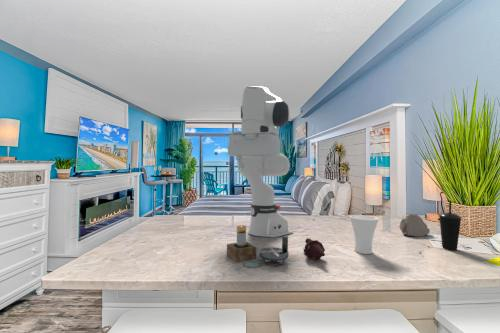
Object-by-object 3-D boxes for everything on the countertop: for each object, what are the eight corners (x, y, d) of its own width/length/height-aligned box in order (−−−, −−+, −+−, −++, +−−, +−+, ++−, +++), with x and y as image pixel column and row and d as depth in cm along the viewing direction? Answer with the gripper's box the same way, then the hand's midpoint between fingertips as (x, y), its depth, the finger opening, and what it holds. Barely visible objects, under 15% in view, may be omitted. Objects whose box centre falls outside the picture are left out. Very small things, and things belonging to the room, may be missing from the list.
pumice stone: (407, 237, 125) (407, 216, 125) (395, 233, 132) (396, 213, 132) (434, 236, 128) (434, 216, 128) (421, 232, 135) (421, 213, 135)
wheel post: (276, 257, 94) (276, 253, 94) (286, 263, 89) (286, 259, 89) (261, 260, 92) (262, 256, 92) (271, 266, 86) (271, 262, 86)
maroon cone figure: (336, 246, 88) (316, 238, 102) (316, 242, 86) (299, 234, 101) (332, 267, 87) (312, 256, 101) (312, 263, 85) (295, 252, 100)
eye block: (246, 251, 100) (246, 241, 100) (256, 258, 93) (256, 247, 93) (226, 254, 97) (226, 244, 97) (235, 262, 90) (235, 250, 90)
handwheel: (263, 261, 84) (264, 242, 84) (256, 251, 94) (256, 234, 94) (292, 259, 87) (293, 241, 86) (282, 250, 96) (282, 233, 96)
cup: (355, 245, 110) (356, 213, 110) (382, 251, 103) (382, 217, 103) (344, 251, 103) (345, 217, 103) (372, 258, 95) (372, 221, 95)
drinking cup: (458, 247, 110) (458, 200, 110) (464, 252, 103) (464, 202, 103) (436, 245, 113) (437, 198, 113) (440, 250, 106) (441, 200, 106)
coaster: (255, 260, 91) (255, 259, 91) (263, 266, 86) (263, 264, 86) (241, 263, 89) (241, 261, 89) (248, 268, 84) (248, 267, 84)
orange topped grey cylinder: (243, 254, 97) (243, 225, 97) (247, 257, 94) (247, 227, 94) (234, 255, 96) (235, 225, 96) (238, 258, 93) (239, 227, 93)
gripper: (224, 130, 97) (224, 167, 97) (275, 126, 87) (274, 168, 87) (233, 133, 103) (233, 168, 102) (282, 129, 93) (281, 168, 92)
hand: (252, 168), depth 94 cm, fingers open, 8 cm apart
